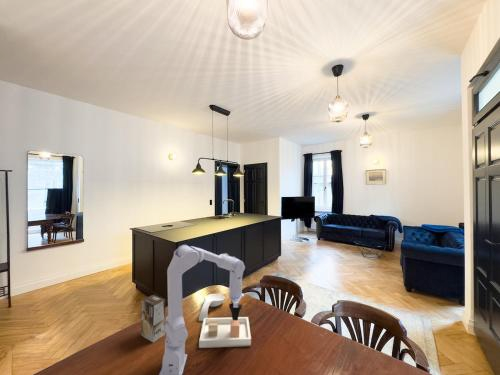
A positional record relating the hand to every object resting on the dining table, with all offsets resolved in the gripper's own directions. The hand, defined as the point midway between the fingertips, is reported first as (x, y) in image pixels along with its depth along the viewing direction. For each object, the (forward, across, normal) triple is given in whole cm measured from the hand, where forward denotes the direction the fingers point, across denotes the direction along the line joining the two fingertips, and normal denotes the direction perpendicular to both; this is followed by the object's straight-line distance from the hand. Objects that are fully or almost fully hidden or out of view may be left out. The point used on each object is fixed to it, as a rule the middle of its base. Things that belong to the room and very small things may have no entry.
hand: (234, 314), depth 99 cm
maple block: (+9, +1, +10) cm, 13 cm away
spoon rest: (+10, +22, +13) cm, 28 cm away
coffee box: (+10, +2, +37) cm, 38 cm away
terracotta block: (+9, 0, 0) cm, 9 cm away
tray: (+9, +1, +4) cm, 10 cm away
